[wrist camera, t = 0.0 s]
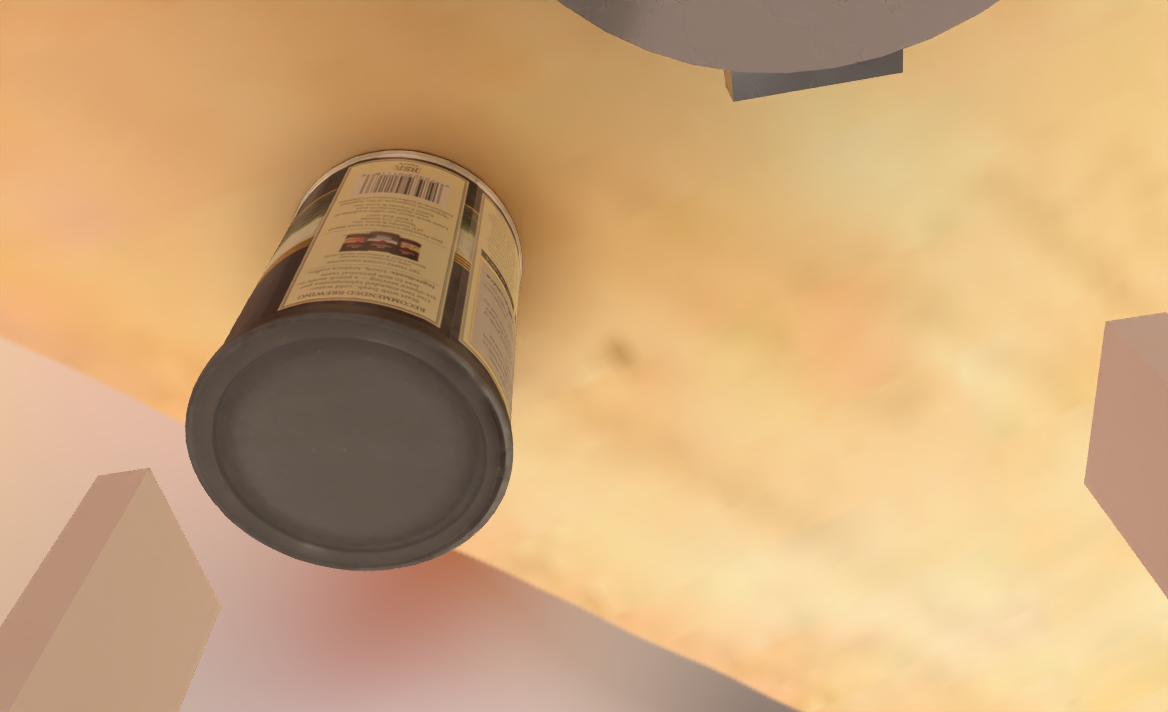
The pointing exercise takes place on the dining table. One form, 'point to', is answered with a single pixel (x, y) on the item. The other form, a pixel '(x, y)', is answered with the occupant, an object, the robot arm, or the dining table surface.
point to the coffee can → (369, 371)
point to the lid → (775, 29)
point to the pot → (808, 77)
